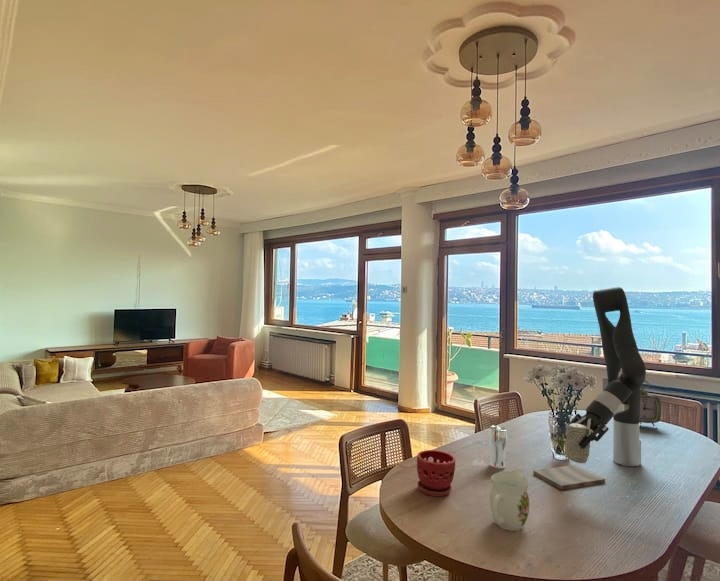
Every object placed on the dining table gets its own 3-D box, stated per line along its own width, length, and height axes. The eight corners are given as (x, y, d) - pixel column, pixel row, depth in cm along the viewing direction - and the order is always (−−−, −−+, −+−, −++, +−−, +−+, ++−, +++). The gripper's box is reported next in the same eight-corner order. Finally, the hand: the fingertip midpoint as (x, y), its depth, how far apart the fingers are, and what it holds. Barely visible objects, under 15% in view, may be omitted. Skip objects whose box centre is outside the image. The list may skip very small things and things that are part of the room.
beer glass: (508, 470, 167) (508, 431, 167) (489, 468, 168) (490, 430, 169) (505, 463, 174) (506, 426, 174) (487, 461, 175) (488, 425, 175)
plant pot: (431, 502, 139) (432, 465, 139) (409, 486, 150) (409, 452, 151) (463, 494, 145) (463, 459, 145) (438, 480, 156) (439, 447, 157)
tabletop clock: (631, 428, 226) (631, 381, 227) (623, 423, 235) (623, 378, 236) (661, 430, 224) (661, 382, 224) (652, 425, 233) (652, 379, 233)
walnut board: (574, 468, 169) (574, 464, 169) (605, 483, 156) (605, 479, 156) (533, 474, 163) (533, 470, 163) (561, 489, 150) (561, 485, 150)
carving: (587, 466, 140) (586, 429, 140) (562, 460, 145) (562, 424, 145) (592, 461, 144) (591, 425, 145) (568, 455, 150) (568, 421, 150)
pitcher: (475, 530, 122) (476, 482, 122) (503, 509, 135) (503, 465, 135) (513, 546, 114) (513, 494, 115) (538, 521, 128) (538, 475, 128)
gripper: (583, 395, 154) (553, 429, 152) (611, 404, 139) (579, 442, 137) (596, 410, 154) (567, 444, 152) (626, 420, 140) (595, 458, 138)
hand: (573, 443), depth 145 cm, fingers closed on carving, 7 cm apart
